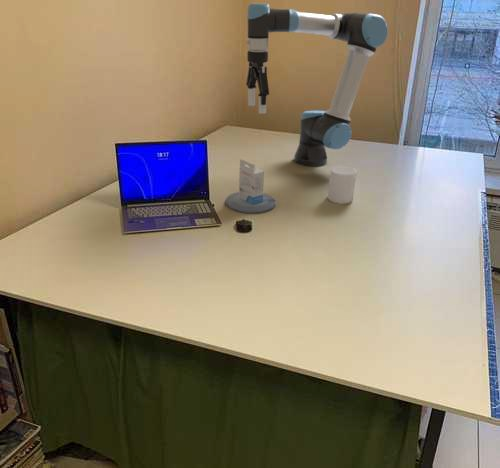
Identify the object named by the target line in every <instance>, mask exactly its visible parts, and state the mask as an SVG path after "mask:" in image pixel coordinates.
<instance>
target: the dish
mask: <svg viewBox="0 0 500 468" xmlns="http://www.w3.org/2000/svg"><path fill="white" fill-rule="evenodd" d="M225 205H226V206H227V208H229V209H230V210H232V211H235V212H238V213H243V214H251V215H253V214H262V213H263V214H264V213H266V212H270V211H272V210H273V209H274V208H276V198H275V197H273V196H272V195H269V194H267V193H265V192H263V202H260V203H257V204H254V205H253V204H251V203H249V202H247V201H245V200H243V199H241V198H239V191H238V192H234V193H232V194H229V195H228V196H227V197H226V199H225Z"/></svg>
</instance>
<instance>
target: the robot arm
mask: <svg viewBox="0 0 500 468" xmlns="http://www.w3.org/2000/svg"><path fill="white" fill-rule="evenodd" d="M246 19H247V40H246V44H247V50H248V51H247V55H246V57H247V59H246V60H247V62H248V71H247V77H246V83H245V84H246V86H247V89H248V94H247V97H248V98H247V99H248V101H247V105H248V107H251V106H252V107H255V106H256V89H257V87H258V92H259V93H258V95H257V96H258V114H259V115H260V114H262V115H264V114H267V100H268V99H267V98H268V97H267V96H268V95H270V90H269V89H270V87H269V82H268V73H267V72H268V69H267V66H264V63H267V62H268V61H269V52H268V50H269V41H270V40H269V36H270V35H269V33H299V34H311V35H320V36H326V37H327V38H328V39H333V40H337V41H342V42H345V43H346V47H347V49H348V53H347V55H346V58H345V62H344V64H343V67H342V71H341V74H340V77H339V80H338V81H337V82H338V83H337V86H336V89H335V91H334V94H333V97H332V101H331V103H330V106H329V109H327V110H305V111H303V112H302V113H301V117H300V131H299V142H298V146H297V149H296V151H295V154H294V157H293V161H294V163H296V164H298V165H301V166H305V167H306V166H308V167H321V166H324V164H325V165H326V164H328V154H327V150H326V148H327V149H332V150H339V149H342V148H344V147H345V146H346V145H347V144H348V143H349V142H350V141H351V138H352V134H353V133H352V132H353V131H352V127H350V124H351V120H352V119H351V117H350V113H351V110H352V108H353V105H354V101H355V98H356V97H357V93H358V90H359V87H360V84H361V82H362V79H363V76H364V73H365V70H366V68H367V65H368V62H369V59H370V57H372V56H373V55H375V54H376V50H377V48H379V47H380V46H382V45H384V43H385V42H386V40H387V38H388V34H389V33H388V31H389V29H388V25H387V21H386V19H385V18H384V17H383V16H382V15H379V14H375V13H363V12H360V13H359V12H347V13H334V12H332V13H330V14H322V13H321V14H320V13H314V12H312V13H311V12H303V11H297V10H295V9H290V8H288V9H287V8H286V9H280V8H270V4H268V3H250V4H249V5H248V8H247V17H246ZM256 84H257V86H256ZM320 165H321V166H320Z"/></svg>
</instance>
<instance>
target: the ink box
mask: <svg viewBox="0 0 500 468" xmlns="http://www.w3.org/2000/svg"><path fill="white" fill-rule="evenodd" d="M238 180H239V183H238V185H239V187H238V192H239V198H241V199H243V200H245V201H247V202H249V203H251V204H253V205H254V204H257V203H260V202H263V193H264V186H265V185H264V181H265V170H262V169H259V168H258V167H255V164H254V163H250V162H249V161H245V160H243V159H242V158H241V159H239V179H238Z"/></svg>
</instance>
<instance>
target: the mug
mask: <svg viewBox="0 0 500 468" xmlns="http://www.w3.org/2000/svg"><path fill="white" fill-rule="evenodd" d="M329 171H330V172H329V173H330V174H329V181H328V182H329V183H328V190H327V191H328V192H327V199H328V200H329V201H330V202H331V203H333V204H337V205H347V203H348V204H350V203H352V202H353V200H354V194H355V186H356V179H357V170H356V168H353V167H349V166H344V165H336V166H332V167H331V168H330V170H329Z"/></svg>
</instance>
